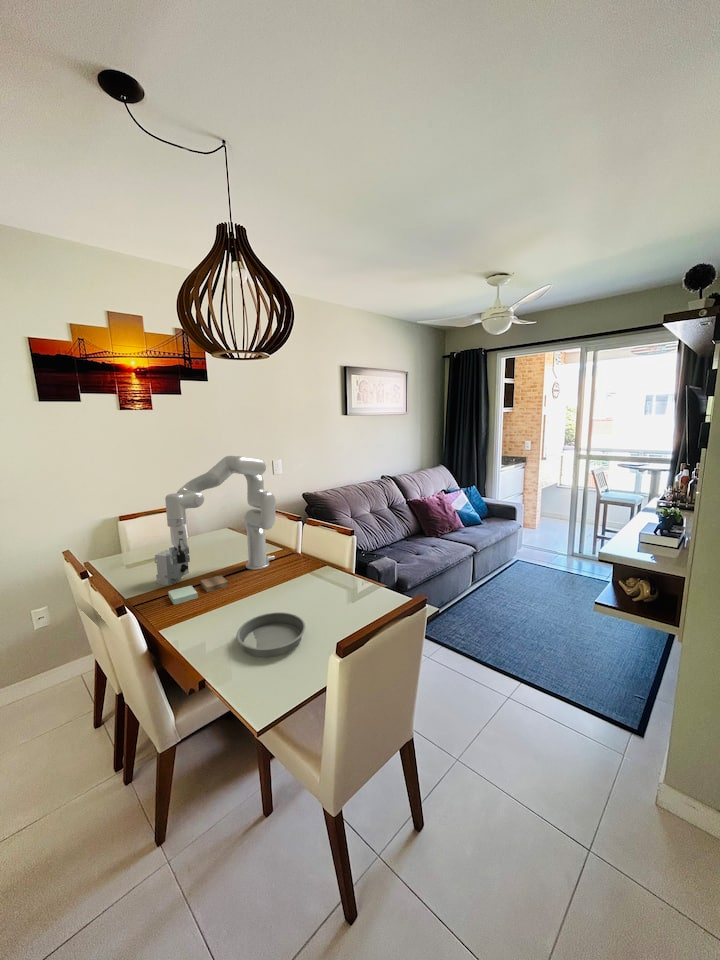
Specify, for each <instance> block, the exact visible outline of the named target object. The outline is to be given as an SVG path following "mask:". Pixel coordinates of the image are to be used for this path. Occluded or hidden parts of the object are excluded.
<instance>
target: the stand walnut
mask: <svg viewBox="0 0 720 960" xmlns="http://www.w3.org/2000/svg"><path fill="white" fill-rule="evenodd" d="M200 586H201V588H203V590H204V591H205V590H206V591H205V592H206V593H210V592H213V591H217V590H221V589H224V588H228V587H229V581H228V580H227V579H226V578H225V577H224V576H223V575H222V574H220V575H216V576H212V577H209V578H208V577H207V578H204V579H201V580H200Z"/></svg>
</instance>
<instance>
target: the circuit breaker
mask: <svg viewBox="0 0 720 960" xmlns="http://www.w3.org/2000/svg"><path fill="white" fill-rule="evenodd" d="M170 556H171V555H170V553H169V549H164V550H162V551H160V552H158V553H155V555H154V564H156V570H157V571H156V572H157V573H156V576H155V578H156V582H157V583H156V584H157V585H165V586H173V585H174V584H175V583H177V582H179V581H180V580H182V577H184V576H186V575H187V574H189V572H190V571H189V562H186V563H182V564H177V565H172V564H171V562H170Z"/></svg>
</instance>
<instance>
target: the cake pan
mask: <svg viewBox="0 0 720 960" xmlns="http://www.w3.org/2000/svg"><path fill="white" fill-rule="evenodd" d="M305 631H306V622H305V620H304V619H302V618H301V617H300V616H298V615H296V614H295V613H294V614H293V613H289V612H269V613H264V614H263V613H262V614H260V615H256V616H255V617H253V618H250V619H248V620H247V621H246V622H244V623H243V624H242V625H241V626H240V627H239V628H238V630H237V632H236V639H237V642H238V643H239V644H240V645H241V646H242V649H243V650H244V651H245V653H247V654H248V655H250V656H253V657H255V658H262V659H263V658H265V659H267V658H269V659H270V658H276V657H279V656H284V655H286V654H288V653H290V652H291V651H294V650H295V649H296V648H297V647H298V646H299V645H300V643H301V641H302V638H303V635H304V633H305ZM251 633H253V634H252V635H253V636H254V639H255V640H256V641H255V642H256V647H254V646H250V645H247V644H246V643H244V641H245V640H246V638H247V637H248V636H249V635H250V634H251Z"/></svg>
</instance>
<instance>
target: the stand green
mask: <svg viewBox="0 0 720 960" xmlns="http://www.w3.org/2000/svg"><path fill="white" fill-rule="evenodd" d="M168 597H169V599H170V601H171V602H172V604H173V605H179V604H181V603H186V602H189V601H192V600H196V599H199V594H198V591H196V589H195V588H194V587H193V585H188V586H183V587H180V588H179V587H178V588H176V589H172V590H168Z"/></svg>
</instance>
